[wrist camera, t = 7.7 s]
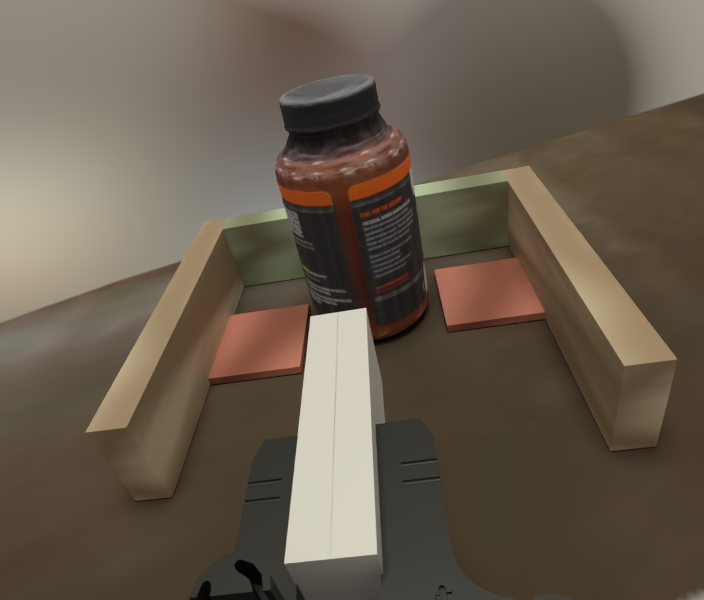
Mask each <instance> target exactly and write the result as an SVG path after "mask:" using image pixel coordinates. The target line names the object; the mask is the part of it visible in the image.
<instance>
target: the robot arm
mask: <svg viewBox="0 0 704 600" xmlns="http://www.w3.org/2000/svg"><path fill="white" fill-rule="evenodd" d="M248 483H249V486H248V487H247V492H246V497H245V505H244V508H243V513H242V518H241V523H240V529H239V534H238V539H237V544H236V550H235V553H233V554H230V555H226V556H223V557H221V558H220V559H218V560H217V561H215V562H214V563H213V564H211V565H210V566H208V567H207V568H206V570H205V571H204V572H203V573H202V575H201V576H200V577H199V578H198V580H197V581H196V583H195V585H194V588H193V590H192V592H191V595H190V597H189V599H190V600H517V599H514V598H510V597H506V596H502V595H498V594H495V593H492V592H490V591H487V590H485V589H482V588H481V587H479V586H478V585H476V584H475V583H473V582H472V581H471V580H470V579H469V578H468V577H467V576H466V575H465V574H464V573H463V572H462V570H461V569H460V567H459V565H458V563H457V562H456V560H455V557H454V553H453V550H452V545H451V539H450V533H449V527H448V522H447V516H446V510H445V504H444V498H443V492H442V486H441V481H440V475H439V469H438V463H437V457H436V451H435V445H434V439H433V436H432V434H431V433H430V431H429V430H428V429H427V427H426V426H425V424H424V423H423V422H422V420H421V419H413V420H405V421H398V422H390V423H385V417H384V403H383V390H382V380H381V375H380V371H379V366H378V361H377V356H376V352H375V347H374V342H373V338H372V333H371V328H370V324H369V319H368V314H367V310H366V308H362V309H355V310H349V311H342V312H336V313H329V314H323V315H316V316H311V318H310V327H309V336H308V346H307V355H306V364H305V374H304V383H303V392H302V401H301V411H300V420H299V429H298V436H292V437H285V438H277V439H269V440H265V441H264V442H263V444H262V446H261V447H260V449H259V451H258V452H257V454H256V455H255V457H254V459H253V460H252V466H251V471H250V476H249V481H248ZM532 600H576V599H574V598H572V597H568V596H564V595H560V594H556V593H552V594H545V595H538V596H536V597H535V598H533V599H532Z"/></svg>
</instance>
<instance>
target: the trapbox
mask: <svg viewBox="0 0 704 600" xmlns="http://www.w3.org/2000/svg"><path fill="white" fill-rule="evenodd" d="M414 190H415V198H416V205H417V213H418V219H419V227H420V235H421V242H422V249H423V256H424V259H426V258H432V257H439V256H445V255H452V254H458V253H465V252H471V251H478V250H484V249H491V248H497V247H504V246H509V248H510V250H511V252H512V254H513V256H514V258H510V259H503V260H496V261H490V262H483V263H477V264H470V265H463V266H457V267H450V268H443V269H437V270H434V272H435V278H436V283H437V287H438V292H439V296H440V300H441V305H442V309H443V314H444V318H445V322H446V327H447V331H448V332H453V331H460V330H467V329H475V328H482V327H489V326H497V325H504V324H511V323H519V322H526V321H533V320H541V319H545V320H546V322H547V324H548V326H549V328H550V330H551V332H552V334H553V336H554V338H555V340H556V342H557V344H558V346H559V348H560V350H561V352H562V354H563V356H564V358H565V360H566V363H567V365H568V367H569V369H570V371H571V373H572V375H573V377H574V379H575V381H576V383H577V385H578V387H579V389H580V391H581V393H582V395H583V397H584V399H585V401H586V403H587V405H588V407H589V409H590V411H591V413H592V415H593V417H594V419H595V421H596V423H597V425H598V427H599V429H600V431H601V433H602V435H603V437H604V439H605V441H606V443H607V445H608V447H609V449H610V451H617V450H626V449H636V448H645V447H655V446H657V442H658V438H659V434H660V430H661V426H662V421H663V417H664V413H665V409H666V405H667V401H668V397H669V392H670V388H671V384H672V380H673V376H674V372H675V368H676V363H677V358H676V357H675V356H674V354H673V353H672V352H671V350H670V349H669V348H668V346H667V345H666V344H665V343H664V341H663V340H662V339H661V337H660V336H659V335H658V333H657V332H656V331H655V330H654V328H653V327H652V326H651V324H650V323H649V322H648V320H647V319H646V318H645V316H644V315H643V314H642V313H641V311H640V310H639V309H638V307H637V306H636V305H635V303H634V302H633V301H632V300H631V298H630V297H629V296H628V294H627V293H626V292H625V290H624V289H623V288H622V287H621V285H620V284H619V283H618V281H617V280H616V279H615V277H614V276H613V275H612V274H611V272H610V271H609V270H608V268H607V267H606V266H605V264H604V263H603V262H602V261H601V259H600V258H599V257H598V255H597V254H596V253H595V251H594V250H593V249H592V248H591V246H590V245H589V244H588V242H587V241H586V240H585V238H584V237H583V236H582V235H581V233H580V232H579V231H578V229H577V228H576V227H575V225H574V224H573V223H572V222H571V220H570V219H569V218H568V216H567V215H566V214H565V212H564V211H563V210H562V209H561V207H560V206H559V205H558V203H557V202H556V201H555V199H554V198H553V197H552V196H551V194H550V193H549V192H548V190H547V189H546V188H545V186H544V185H543V184H542V183H541V181H540V180H539V179H538V177H537V176H536V175H535V173H534V172H533V171H532V170H531V168H530V167H529V166H526V167H520V168H514V169H508V170H503V171H497V172H491V173H485V174H479V175H473V176H468V177H462V178H456V179H450V180H444V181H438V182H433V183H427V184H421V185H415V186H414ZM303 277H305V275H304V271H303V268H302V264H301V261H300V258H299V254H298V251H297V247H296V244H295V239H294V237H293V235H292V230H291V227H290V224H289V221H288V217H287V214H286V210H285V208H281V209H275V210H270V211H264V212H258V213H252V214H246V215H240V216H235V217H229V218H223V219H218V220H211V221H206V222H204V223H203V225H202V227H201V229H200V230H199V232H198V234H197V236H196V238H195V239H194V241H193V243H192V245H191V247H190V248H189V250H188V252H187V253H186V255H185V257H184V259H183V260H182V262H181V264H180V266H179V268H178V269H177V271H176V273H175V275H174V276H173V278H172V280H171V282H170V283H169V285H168V287H167V289H166V291H165V292H164V294H163V296H162V298H161V299H160V301H159V303H158V305H157V306H156V308H155V310H154V312H153V314H152V315H151V317H150V319H149V321H148V322H147V324H146V326H145V328H144V329H143V331H142V333H141V335H140V337H139V338H138V340H137V342H136V344H135V345H134V347H133V349H132V351H131V352H130V354H129V356H128V358H127V360H126V361H125V363H124V365H123V367H122V368H121V370H120V372H119V374H118V376H117V377H116V379H115V381H114V383H113V384H112V386H111V388H110V390H109V391H108V393H107V395H106V397H105V399H104V400H103V402H102V404H101V406H100V407H99V409H98V411H97V413H96V414H95V416H94V418H93V420H92V422H91V423H90V425H89V427H88V429H87V430H86V432H85V433H86V434H87V436H88V437H89V438H90V440H91V441H92V442H93V444H94V445H95V446H96V448H97V449H98V451H99V452H100V453H101V455H102V456H103V457H104V459H105V460H106V461H107V463H108V464H109V465H110V467H111V468H112V470H113V471H114V472H115V474H116V475H117V476H118V478H119V479H120V480H121V482H122V483H123V484H124V486H125V487H126V489H127V490H128V491H129V493H130V494H131V495H132V497H133V498H134V499H135V501H140V500H150V499H159V498H169V497H173V494H174V491H175V488H176V485H177V482H178V479H179V476H180V473H181V470H182V467H183V464H184V461H185V459H186V456H187V453H188V450H189V447H190V444H191V441H192V438H193V435H194V432H195V429H196V426H197V423H198V420H199V417H200V414H201V412H202V409H203V406H204V403H205V400H206V397H207V394H208V391H209V388H210V385H213V384H221V383H228V382H236V381H243V380H251V379H259V378H266V377H274V376H281V375H289V374H297V373H302V369H303V361H304V354H305V347H306V339H307V332H308V325H309V317H310V306H309V304H304V305H298V306H291V307H284V308H277V309H271V310H264V311H257V312H250V313H244V314H237V315H235V312H236V309H237V306H238V303H239V300H240V297H241V294H242V291H243V288H244V286H251V285H257V284H264V283H270V282H277V281H283V280H290V279H296V278H303Z"/></svg>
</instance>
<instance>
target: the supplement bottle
mask: <svg viewBox="0 0 704 600" xmlns="http://www.w3.org/2000/svg"><path fill="white" fill-rule="evenodd" d="M279 103H280V108H281V112H282V115H283V120H284V123H285V124H284V127H285V130H286V131H288V132H289V137H288V140H287V143H286V146H285V147H284V149H283V150H282V151H281V153H280V154H279V156H278V158H277V161H276V164H275V172H276V177H277V182H278V185H279V189H280V192H281V195H282V199H283V204H284V207H285V210H286V214H287V217H288V221H289V224H290V227H291V230H292V235H293V237H294V239H295V244H296V247H297V251H298V254H299V258H300V261H301V264H302V268H303V271H304V275H305V279H306V282H307V285H308V287H309V292H310V295H311V298H312V302H313V305H314V308H315V311H316V313H317V315H323V314H329V313H336V312H342V311H349V310H355V309H362V308H366V310H367V314H368V319H369V324H370V328H371V333H372V338H373V340H378V339H383V338H386V337H389V336H392V335H395V334H397V333H399V332H401V331H403V330H405V329H406V328H408V327H410V326H411V325H412V324H414V323H415V322H416V321H417V320H418V319H419V318H420V317H421V316H422V314H423V313H424V311H425V309H426V306H427V302H428V290H427V287H428V286H427V279H426V272H425V265H424V256H423V249H422V242H421V235H420V227H419V219H418V213H417V205H416V198H415V190H414V183H413V176H412V169H411V162H410V155H409V149H408V145H407V142H406V139H405V137H404V135H403V134H402V133H401V132H400V131H399V130H398V129H396V128H395V127H393V126H392V125H389V124H387V123H386V122H385V121H384V119H383V118H382V117H381V115H380V114H379V112H378V111H379V109H380V103H379V101H378V96H377V91H376V84H375V80H374V78H373V77H371V76H369V75H365V74H349V75H342V76H336V77H331V78H327V79H322V80H318V81H314V82H311V83H308V84H305V85H302V86H300V87H297V88H295V89H293V90H291V91H288V92H287V93H286V94H284V95H283V96H281V98H280V100H279Z"/></svg>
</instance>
